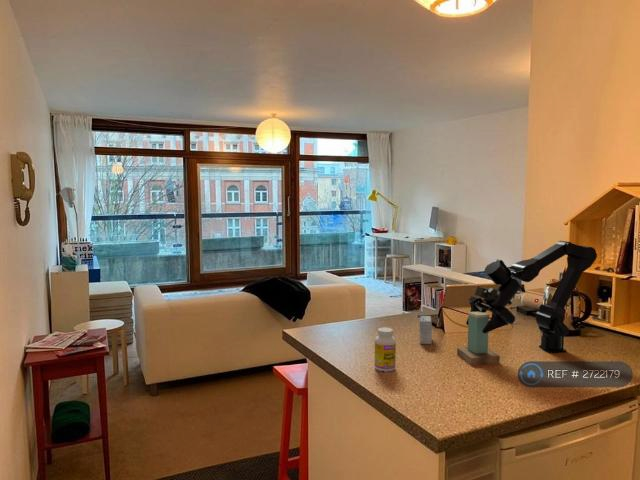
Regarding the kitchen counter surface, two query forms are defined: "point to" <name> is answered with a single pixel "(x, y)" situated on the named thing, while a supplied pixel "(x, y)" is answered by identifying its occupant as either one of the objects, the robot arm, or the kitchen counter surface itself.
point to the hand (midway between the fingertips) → (474, 328)
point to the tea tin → (477, 332)
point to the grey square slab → (478, 357)
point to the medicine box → (425, 330)
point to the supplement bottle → (385, 350)
